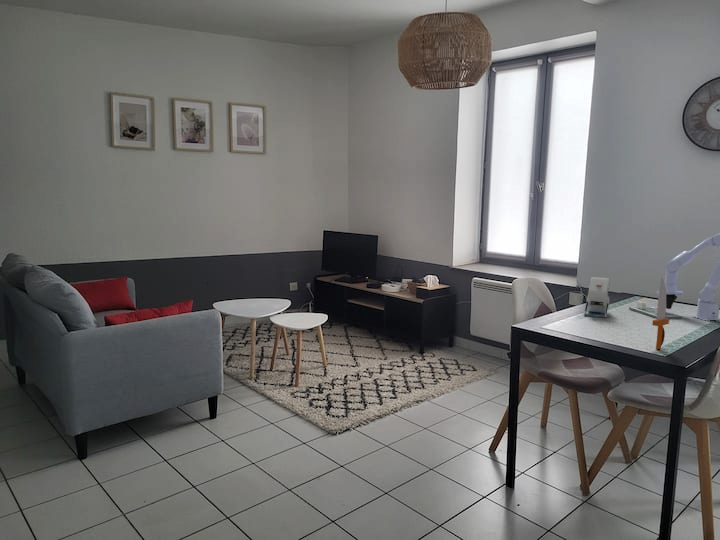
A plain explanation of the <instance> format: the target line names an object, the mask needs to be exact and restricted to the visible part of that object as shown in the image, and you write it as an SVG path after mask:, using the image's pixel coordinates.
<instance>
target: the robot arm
mask: <svg viewBox="0 0 720 540" xmlns="http://www.w3.org/2000/svg"><path fill="white" fill-rule="evenodd" d="M715 246H716V247H718V250H720V232H719V233H716V234H714V235H712V236H711V237H708V238H706V239H704V240H703V241H702V242H701V243H699V244H697V245H696V246H694V247H693V248H692V249H691V250H684V251H680V252H679V254H678V255H677V256H675V257H672V259H671V260H669V261H668V262H666V264H665V270H666V271H665V278H664V283H665V287H666V310H672V306H673V304H674V302H675V301H676V300H677V298H678V296H684V294H685V293H684V291H683V290H677V289H678V280H679V269H680V268H681V267H682V268H683V267H684V266H685V265H687V264H689V263H690V262H692V261H693V260H694V256H695V255H697V254H699V253H700V252H702V251H703V250H705V249H707V248H708V247H711V248H712V247H715ZM719 283H720V257H719V259H718V261H717V263H716V264H715V267H714V269H713V271H712V273H711V275H710V276H709V279H708V281H707V282H706V284H705V286H704V287H703V288H702V289H701V290H700V291H699V293H698V299H697V305H696V306H697V307H696V315H692V316H691V317H693V318H695V317H696V319H698V318H699V320H702V321H705V320H706V322H709V321H710V320H716V321H720V318H719V315H720V314H719V313H720V306H719V304H717V303H715V301H716V300H714V298H715V296H716V289H717V287H718V285H719ZM655 295H656V296H658V297H659V290H658V291H657V290H656V292H655ZM710 322H711V321H710Z"/></svg>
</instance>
